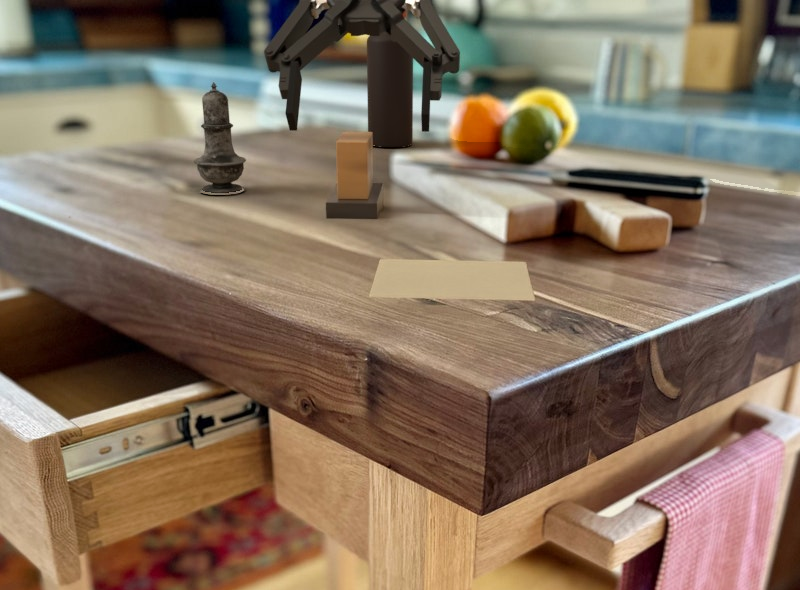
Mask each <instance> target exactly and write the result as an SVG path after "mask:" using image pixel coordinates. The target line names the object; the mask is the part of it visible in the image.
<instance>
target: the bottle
mask: <svg viewBox="0 0 800 590" xmlns="http://www.w3.org/2000/svg"><path fill="white" fill-rule="evenodd" d="M407 13H408V9H406V10H405V12H404V13H403V17H404V19H405V20H406V19H407V18H408V14H407ZM366 81H367V82H366V84H367V85H366V87H367V132H372V138H373V145H375V146H381V147H403V146H408V145H410V144H411V145H413V139H414V138H413V135H414V133H413V132H414V131H413V129H414V128H413V125H414V123H413V122H414V121H413V120H414V115H413V113H414V111H413V110H414V109H413V108H414V96H413V95H414V92H413V91H414V58H413V57H412V56H411V55H410V54H409V53H408V52H407V51H406V50H405V49H404V48H402V47H401V46H400V45H399V44H398V43H397V42H393V41H392V40H391V39H390V38H389V37H388V36H387V35H386V34H385V33H381V34H380V36H370V35H368V37H367V39H366ZM411 145H410V146H411ZM408 147H409V146H408ZM403 148H404V147H403Z"/></svg>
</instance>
